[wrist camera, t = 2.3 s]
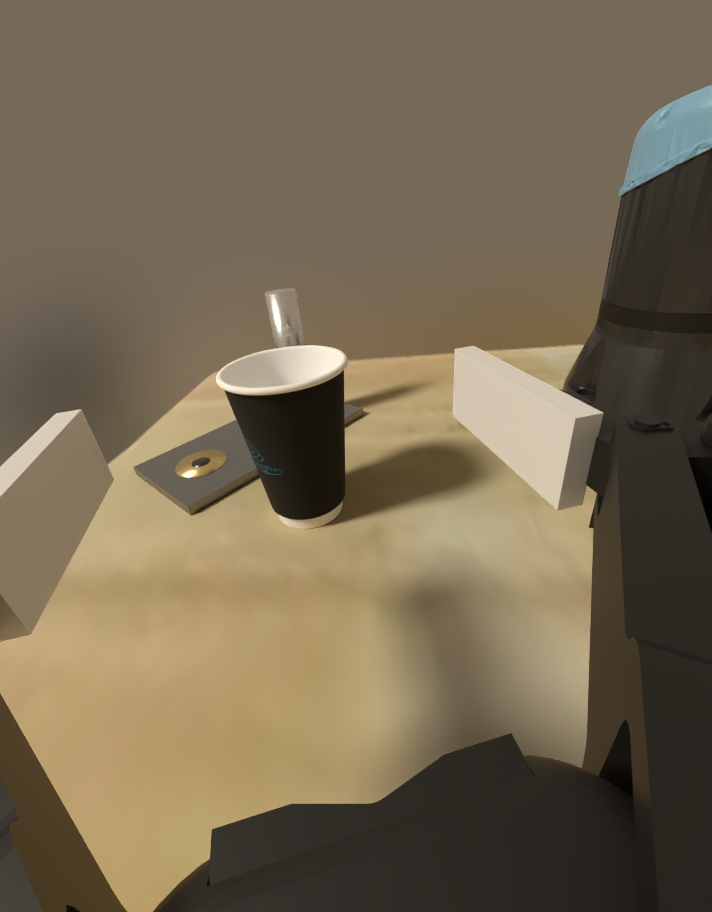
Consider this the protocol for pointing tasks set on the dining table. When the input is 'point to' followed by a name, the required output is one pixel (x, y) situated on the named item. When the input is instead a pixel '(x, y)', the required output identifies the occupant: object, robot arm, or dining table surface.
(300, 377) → the dixie cup
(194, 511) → the plate
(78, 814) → the dining table surface
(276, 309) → the post
